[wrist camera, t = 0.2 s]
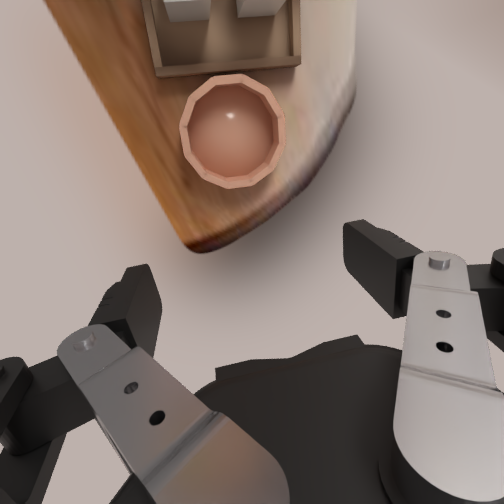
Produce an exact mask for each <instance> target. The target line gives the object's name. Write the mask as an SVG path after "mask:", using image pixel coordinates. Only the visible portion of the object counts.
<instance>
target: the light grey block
mask: <svg viewBox="0 0 504 504" xmlns="http://www.w3.org/2000/svg"><path fill="white" fill-rule="evenodd" d="M164 4H165V7H166V11H167V14H168V17H169V20H170V22H185V21H199V20H209V17H210V6H211V0H164Z"/></svg>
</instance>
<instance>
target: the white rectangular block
mask: <svg viewBox="0 0 504 504" xmlns="http://www.w3.org/2000/svg"><path fill="white" fill-rule="evenodd" d="M285 1H286V0H236V4H237V15H238V18H243V17H258V16H272V15H276V13H277V12H278V10H279V9H280V8H281V6H282V5H283V4H284V2H285Z"/></svg>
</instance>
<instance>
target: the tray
mask: <svg viewBox="0 0 504 504" xmlns="http://www.w3.org/2000/svg"><path fill="white" fill-rule="evenodd" d="M141 2H142V7H143V12H144V17H145V22H146V27H147V33H148V38H149V43H150V48H151V53H152V58H153V63H154V68H155V73H156V77H157V78H158V79H159V78H171V77H182V76H194V75H205V74H216V73H228V72H239V71H251V70H262V69H274V68H285V67H296V66H298V65H300V64H301V28H300V0H286V1H285V2H284V4H283V5H282V6H281V8H280V9H279V10H278V12H277V13H276V15H272V16H258V17H243V18H238V15H237V4H236V0H211V6H210V17H209V20H199V21H185V22H170V20H169V17H168V14H167V11H166V7H165V4H164V0H141Z"/></svg>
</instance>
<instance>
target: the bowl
mask: <svg viewBox="0 0 504 504" xmlns="http://www.w3.org/2000/svg"><path fill="white" fill-rule="evenodd" d="M189 96H190V97H188V100H187V103H186V106H185V109H184V112H183V115H182V118H181V120H180V123H179V125H180V126H179V130H180V135H181V141H182V146H183V152H184V155H185V158H186V159H187V160H188V161H189V163H190V164H191V165H192V166H193V168H194V169H195V170H196V171H197V173H198V174H199V175H200V176H201V178H203V179H204V180H207V181H209V182H211V183H214V184H216V185H219V186H221V187H223V188H226V189H231V188H239V187H247V186H252V184H253V185H255V184H256V183H257V182H259V181H260V180H261V179H263V178H264V177H265V176H267V175H268V174H269V173H271V172H272V171H273V169H275V167H276V165H277V163H278V160H279V158H280V156H281V154H282V152H283V150H284V147H285V144H286V134H285V115H284V113H283V111H282V109H281V107H280V106H279V104H278V102H277V101H276V99H275V97H274V95H273V94H272V92H271V90H270V89H269V88H268V87H266V86H264V85H262V84H261V83H259V82H257V81H255V80H253V79H252V78H250V77H248V76H246V75H244V74H243V75H242V74H233V75H222V76H213V77H211V78H210V79H209V80H208V81H206V82H205V83H204V84H203V85H201V86H200V87H199V88H198V89H197V90H195V91H194V92H193V93H192V94H191V95H189Z"/></svg>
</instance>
